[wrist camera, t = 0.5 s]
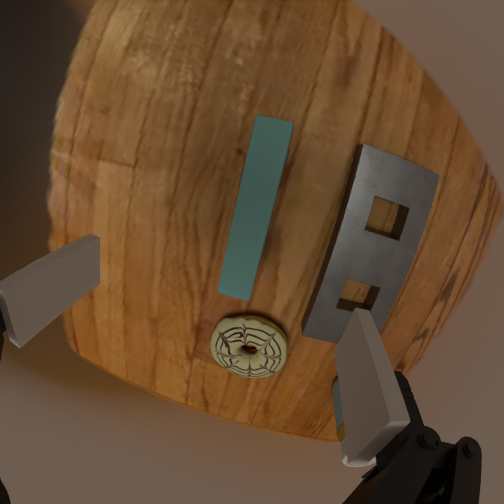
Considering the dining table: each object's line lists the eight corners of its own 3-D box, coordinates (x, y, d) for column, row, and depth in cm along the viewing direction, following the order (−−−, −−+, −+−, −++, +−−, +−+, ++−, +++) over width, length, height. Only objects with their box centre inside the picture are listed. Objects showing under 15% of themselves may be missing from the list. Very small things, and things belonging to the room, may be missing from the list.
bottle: (381, 375, 38) (402, 447, 24) (353, 399, 41) (364, 470, 26) (351, 360, 38) (367, 439, 24) (323, 387, 40) (327, 463, 26)
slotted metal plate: (357, 145, 29) (363, 143, 26) (428, 173, 28) (439, 175, 25) (301, 323, 37) (301, 335, 34) (366, 337, 36) (370, 349, 33)
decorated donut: (211, 306, 38) (203, 320, 35) (289, 309, 37) (288, 324, 33) (218, 363, 41) (213, 378, 38) (287, 366, 40) (286, 383, 36)
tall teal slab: (267, 128, 29) (256, 114, 20) (292, 134, 29) (293, 122, 20) (237, 256, 35) (217, 292, 26) (260, 262, 35) (248, 301, 25)
